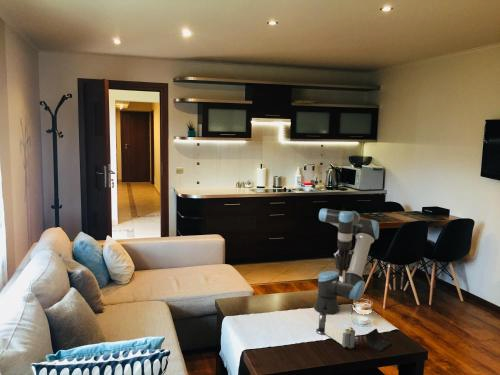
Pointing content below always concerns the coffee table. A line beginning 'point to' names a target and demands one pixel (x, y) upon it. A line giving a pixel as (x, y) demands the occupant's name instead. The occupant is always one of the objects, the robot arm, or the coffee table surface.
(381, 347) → the black angled block
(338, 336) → the gate
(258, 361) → the coffee table surface
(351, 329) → the stile post
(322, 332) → the hinge post
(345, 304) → the coffee table surface
